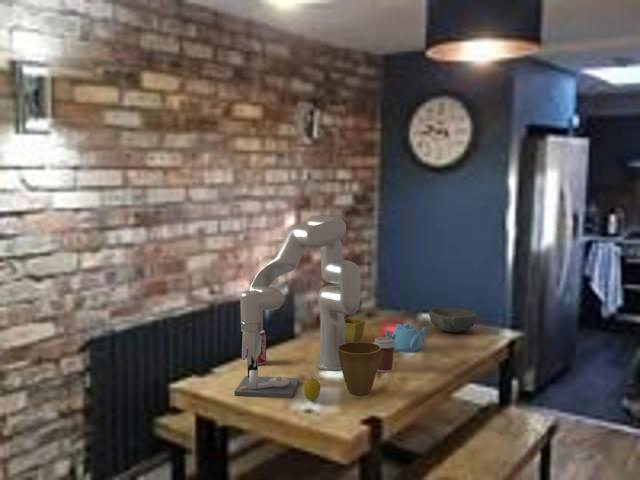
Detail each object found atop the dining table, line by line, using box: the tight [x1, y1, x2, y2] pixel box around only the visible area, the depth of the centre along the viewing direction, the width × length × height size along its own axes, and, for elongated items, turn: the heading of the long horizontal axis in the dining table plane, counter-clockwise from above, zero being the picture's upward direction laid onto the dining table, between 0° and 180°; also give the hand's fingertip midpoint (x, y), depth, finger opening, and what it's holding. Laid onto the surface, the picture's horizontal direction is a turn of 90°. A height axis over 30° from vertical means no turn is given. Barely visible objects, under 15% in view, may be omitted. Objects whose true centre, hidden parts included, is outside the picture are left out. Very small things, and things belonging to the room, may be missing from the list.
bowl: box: [428, 306, 478, 333], centre depth 324 cm, size 23×22×10 cm
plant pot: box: [338, 341, 381, 396], centre depth 238 cm, size 15×15×16 cm
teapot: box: [384, 323, 428, 353], centre depth 294 cm, size 15×15×11 cm
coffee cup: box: [372, 336, 396, 373], centre depth 264 cm, size 9×9×12 cm
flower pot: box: [344, 317, 366, 343], centre depth 306 cm, size 9×9×9 cm
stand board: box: [234, 375, 300, 399], centre depth 242 cm, size 20×17×2 cm
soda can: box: [256, 329, 267, 366], centre depth 272 cm, size 7×7×13 cm
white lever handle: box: [249, 370, 289, 390], centre depth 239 cm, size 14×7×6 cm, turn 117°
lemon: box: [303, 377, 321, 402], centre depth 229 cm, size 6×6×8 cm
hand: (252, 377), depth 241 cm, fingers closed
